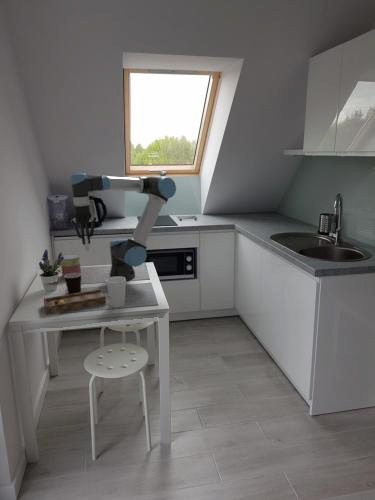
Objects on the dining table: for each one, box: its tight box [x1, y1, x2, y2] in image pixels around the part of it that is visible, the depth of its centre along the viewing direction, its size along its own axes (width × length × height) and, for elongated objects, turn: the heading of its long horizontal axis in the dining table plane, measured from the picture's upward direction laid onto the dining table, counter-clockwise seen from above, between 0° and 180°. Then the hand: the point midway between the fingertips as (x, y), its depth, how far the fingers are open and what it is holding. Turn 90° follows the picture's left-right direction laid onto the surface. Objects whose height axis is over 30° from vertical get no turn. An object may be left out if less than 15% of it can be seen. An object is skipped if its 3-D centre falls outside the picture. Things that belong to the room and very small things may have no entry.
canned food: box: [60, 253, 82, 279], centre depth 236 cm, size 11×11×12 cm
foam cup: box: [105, 276, 127, 308], centre depth 189 cm, size 10×9×13 cm
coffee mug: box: [64, 273, 82, 295], centre depth 208 cm, size 12×9×10 cm
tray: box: [43, 288, 107, 315], centre depth 192 cm, size 28×12×4 cm, turn 114°
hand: (87, 250), depth 201 cm, fingers closed
